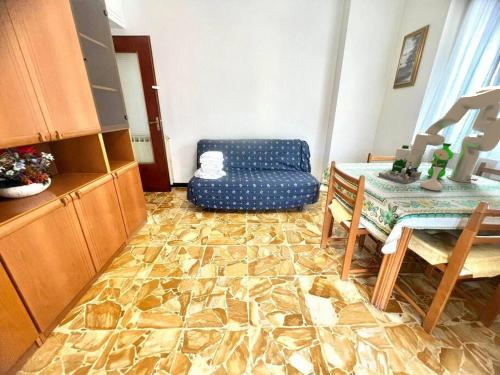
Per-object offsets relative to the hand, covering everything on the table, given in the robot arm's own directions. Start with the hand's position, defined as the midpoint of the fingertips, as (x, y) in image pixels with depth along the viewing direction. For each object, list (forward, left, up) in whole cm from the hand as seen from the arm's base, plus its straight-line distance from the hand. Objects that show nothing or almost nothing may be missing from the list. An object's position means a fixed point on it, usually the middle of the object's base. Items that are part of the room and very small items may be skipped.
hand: (409, 175), depth 151 cm
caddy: (+2, +13, -1) cm, 13 cm away
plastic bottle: (-8, -17, -1) cm, 19 cm away
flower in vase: (-18, +12, -1) cm, 22 cm away
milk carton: (+13, -8, -1) cm, 15 cm away
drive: (0, 0, -1) cm, 1 cm away
